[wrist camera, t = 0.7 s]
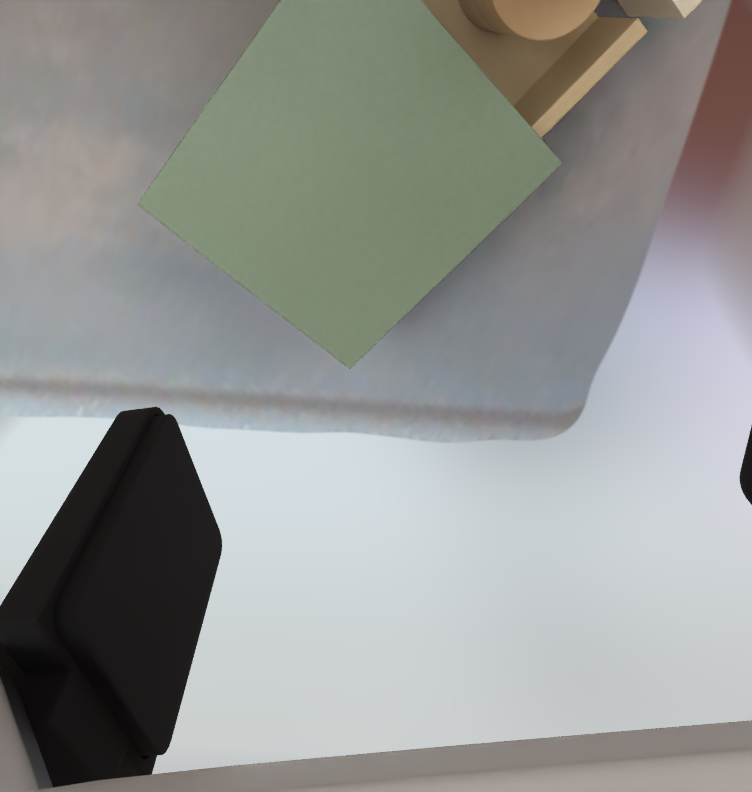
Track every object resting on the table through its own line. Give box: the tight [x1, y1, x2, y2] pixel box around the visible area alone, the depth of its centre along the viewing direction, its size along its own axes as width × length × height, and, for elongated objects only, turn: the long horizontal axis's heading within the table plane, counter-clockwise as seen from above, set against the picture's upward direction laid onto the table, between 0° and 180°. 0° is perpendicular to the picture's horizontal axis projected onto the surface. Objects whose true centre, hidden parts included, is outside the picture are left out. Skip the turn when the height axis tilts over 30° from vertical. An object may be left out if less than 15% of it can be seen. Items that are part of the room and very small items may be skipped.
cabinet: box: [138, 0, 562, 369], centre depth 33 cm, size 16×14×9 cm
